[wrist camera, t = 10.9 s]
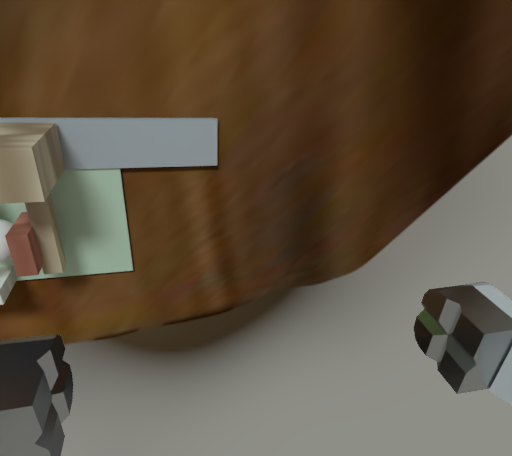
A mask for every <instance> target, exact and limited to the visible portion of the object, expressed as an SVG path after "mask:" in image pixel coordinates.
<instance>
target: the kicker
mask: <svg viewBox="0 0 512 456" xmlns="http://www.w3.org/2000/svg"><path fill="white" fill-rule="evenodd" d="M64 169H65V167H64V162H63V157H62V152H61V147H60V142H59V137H58V132H57V127H56V123H0V204H6V203H25V206H26V210H27V212H21V214H20V215H19V217H18V218H17V220H16V221H15V223H14V224H13V225H12V227H11V228H10V230H9V231H8V233H7V234H6V236H5V238H6V241H7V244H8V247H9V251H10V254H11V257H12V260H13V263H14V267H15V270H16V273H17V276H18V277H20V276H32V275H38V274H39V272H40V270H41V268H42V269H43V273H44V274H55V273H63V272H64V269H65V266H66V259H65V254H64V250H63V245H62V241H61V237H60V232H59V228H58V224H57V219H56V215H55V211H54V206H53V202H52V197H51V193H50V192H51V191H52V189H53V187H54V186H55V184H56V182H57V181H58V179H59V177H60V176H61V174H62V173H63V171H64Z"/></svg>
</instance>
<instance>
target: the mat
mask: <svg viewBox="0 0 512 456" xmlns="http://www.w3.org/2000/svg"><path fill="white" fill-rule="evenodd" d="M50 193H51V197H52V202H53V206H54V211H55V215H56V219H57V224H58V228H59V232H60V237H61V241H62V245H63V250H64V254H65V259H66V266H65V269H64V272H63V273H55V274H44V273H43V269H42V268H41V270H40V272H39V274H38V275H32V276H20V277H18V276H17V278H18V279H17V280H16V281H19V280H30V279H42V278H53V277H65V276H76V275H88V274H99V273H111V272H122V271H133V263H132V255H131V247H130V240H129V232H128V224H127V216H126V208H125V200H124V193H123V185H122V177H121V169H120V168H108V169H71V170H64V171H63V173H62V174H61V176H60V177H59V179H58V181H57V182H56V184H55V186H54V187H53V189H52V191H51V192H50ZM21 212H27V210H26V206H25V203H6V204H0V219H3V220H7V221H9V222H11V223H13V224H14V223H15V221H16V220H17V218H18V217H19V215H20V214H21ZM8 266H14V263H13V260H12V259H11V260H9V261H7V262H4V263H0V267H8ZM14 269H15V267H14ZM15 272H16V270H15ZM16 275H17V273H16Z"/></svg>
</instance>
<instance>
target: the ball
mask: <svg viewBox="0 0 512 456" xmlns="http://www.w3.org/2000/svg"><path fill="white" fill-rule="evenodd" d="M12 225H13V223H11V222H9V221H7V220H3V219H0V263H4V262H7V261H9V260H11V259H12V257H11V254H10V251H9V247H8V244H7V241H6V238H5V236H6V234H7V233H8V231H9V230H10V228H11V227H12Z"/></svg>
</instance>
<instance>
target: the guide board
mask: <svg viewBox="0 0 512 456" xmlns="http://www.w3.org/2000/svg"><path fill="white" fill-rule="evenodd" d="M0 123H56V127H57V132H58V137H59V142H60V147H61V152H62V157H63V162H64V167H65V169H64V170H71V169H108V168H144V167H181V166H217V118H0Z"/></svg>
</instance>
